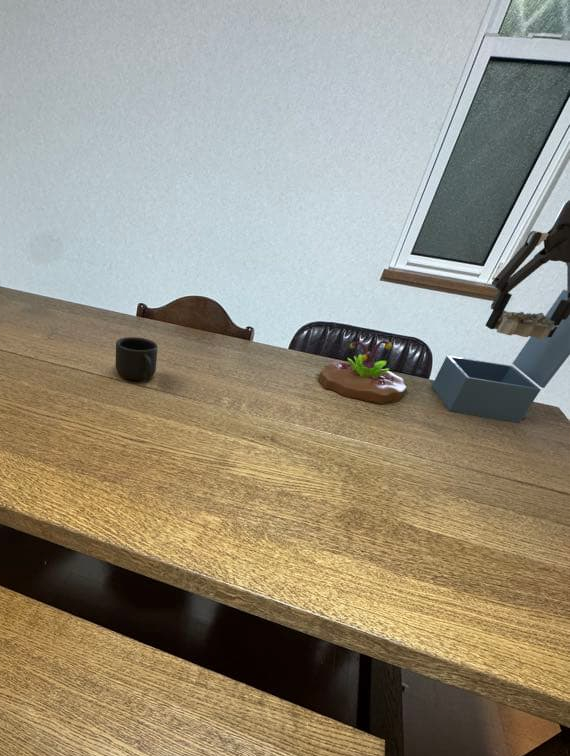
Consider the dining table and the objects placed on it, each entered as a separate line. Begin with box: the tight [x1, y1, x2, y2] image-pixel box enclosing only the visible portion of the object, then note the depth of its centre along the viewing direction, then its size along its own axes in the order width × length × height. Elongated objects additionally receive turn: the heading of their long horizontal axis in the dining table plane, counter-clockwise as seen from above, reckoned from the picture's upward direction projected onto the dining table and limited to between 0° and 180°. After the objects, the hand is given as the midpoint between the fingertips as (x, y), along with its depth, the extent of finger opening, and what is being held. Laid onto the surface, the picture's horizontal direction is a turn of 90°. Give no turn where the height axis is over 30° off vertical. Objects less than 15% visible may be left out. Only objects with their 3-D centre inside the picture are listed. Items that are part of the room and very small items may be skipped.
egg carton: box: [493, 309, 558, 339], centre depth 93 cm, size 11×8×4 cm
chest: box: [431, 355, 542, 423], centre depth 107 cm, size 16×16×8 cm
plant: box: [318, 339, 408, 405], centre depth 107 cm, size 20×20×11 cm
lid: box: [511, 289, 570, 389], centre depth 98 cm, size 16×16×5 cm
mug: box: [114, 336, 159, 382], centre depth 98 cm, size 12×9×7 cm
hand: (517, 331), depth 94 cm, fingers closed on egg carton, 11 cm apart
